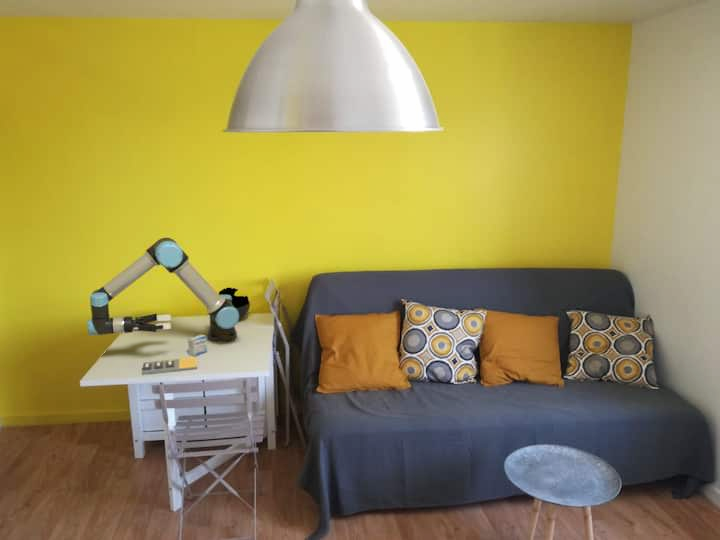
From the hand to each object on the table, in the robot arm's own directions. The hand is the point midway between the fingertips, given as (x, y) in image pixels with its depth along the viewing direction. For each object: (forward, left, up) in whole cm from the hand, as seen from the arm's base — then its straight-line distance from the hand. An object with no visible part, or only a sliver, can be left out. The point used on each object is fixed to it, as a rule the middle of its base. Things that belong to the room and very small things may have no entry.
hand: (170, 321), depth 295 cm
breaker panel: (+1, +14, -18) cm, 23 cm away
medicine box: (-12, 0, -18) cm, 21 cm away
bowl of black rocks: (-33, -48, -18) cm, 61 cm away
